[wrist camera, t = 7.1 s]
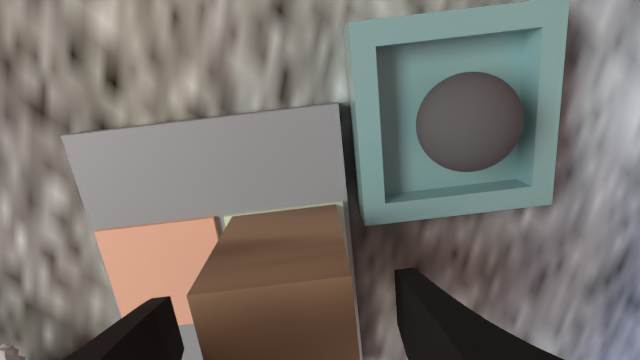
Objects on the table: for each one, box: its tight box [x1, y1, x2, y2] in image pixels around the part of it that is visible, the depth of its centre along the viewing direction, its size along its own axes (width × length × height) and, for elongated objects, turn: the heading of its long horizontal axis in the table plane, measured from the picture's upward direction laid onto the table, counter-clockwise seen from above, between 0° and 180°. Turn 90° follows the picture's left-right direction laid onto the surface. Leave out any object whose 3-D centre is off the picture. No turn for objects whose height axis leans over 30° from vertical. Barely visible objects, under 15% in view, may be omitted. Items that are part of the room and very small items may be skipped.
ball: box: [416, 72, 524, 172], centre depth 11 cm, size 3×3×3 cm
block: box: [186, 204, 360, 360], centre depth 11 cm, size 4×4×5 cm
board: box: [61, 102, 363, 360], centre depth 14 cm, size 12×10×1 cm
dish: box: [344, 0, 570, 226], centre depth 12 cm, size 7×7×2 cm
